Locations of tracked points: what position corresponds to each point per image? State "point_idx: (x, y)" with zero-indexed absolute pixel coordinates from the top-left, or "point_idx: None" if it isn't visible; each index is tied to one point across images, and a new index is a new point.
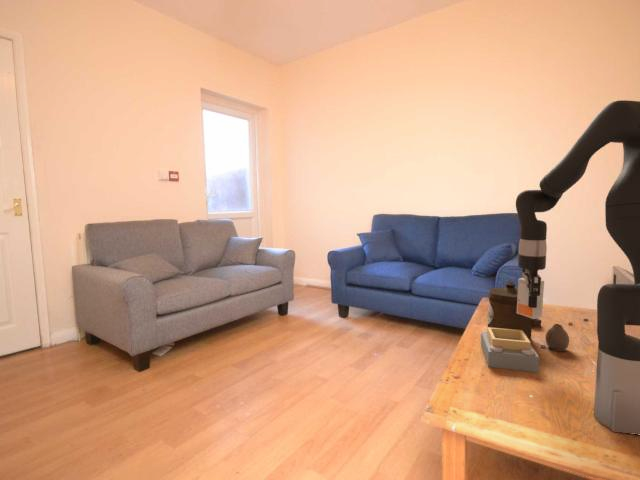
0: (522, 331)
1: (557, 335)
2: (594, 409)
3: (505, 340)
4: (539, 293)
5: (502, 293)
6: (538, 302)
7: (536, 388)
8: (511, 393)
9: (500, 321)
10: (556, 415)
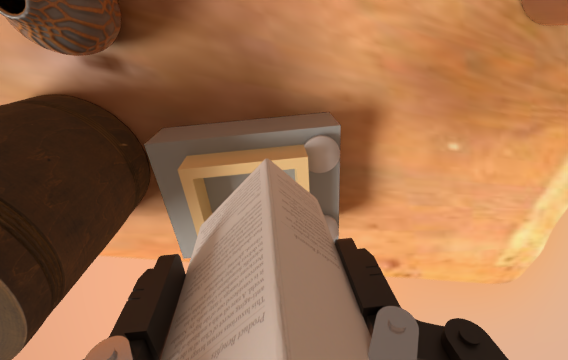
0: (193, 170)
1: (89, 12)
2: (562, 24)
3: None
4: (497, 349)
5: None
6: (314, 241)
7: (419, 129)
8: (447, 180)
9: (114, 231)
10: (530, 109)
